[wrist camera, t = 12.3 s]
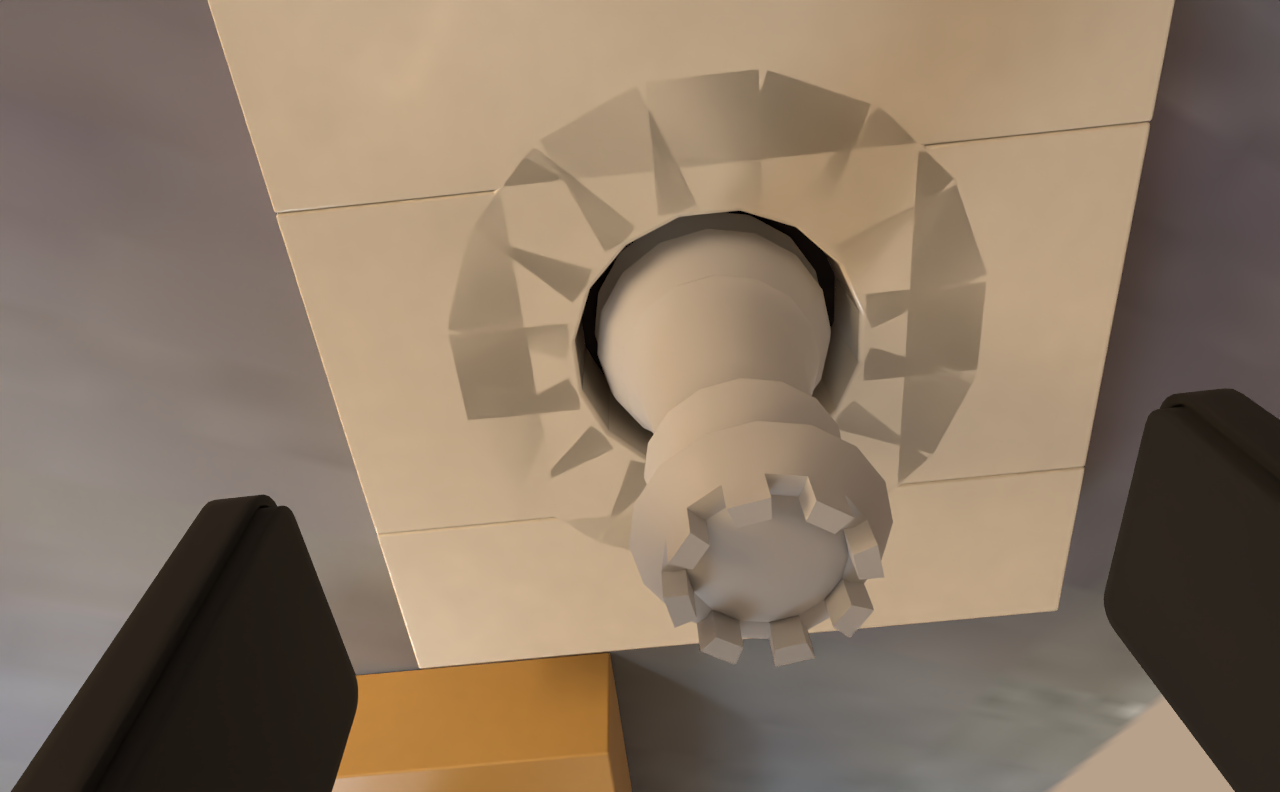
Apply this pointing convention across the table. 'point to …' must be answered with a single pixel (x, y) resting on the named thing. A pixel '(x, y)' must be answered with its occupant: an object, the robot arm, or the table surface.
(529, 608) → the white socket plate
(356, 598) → the table surface
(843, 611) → the rook chess piece
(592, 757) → the orange dial base
